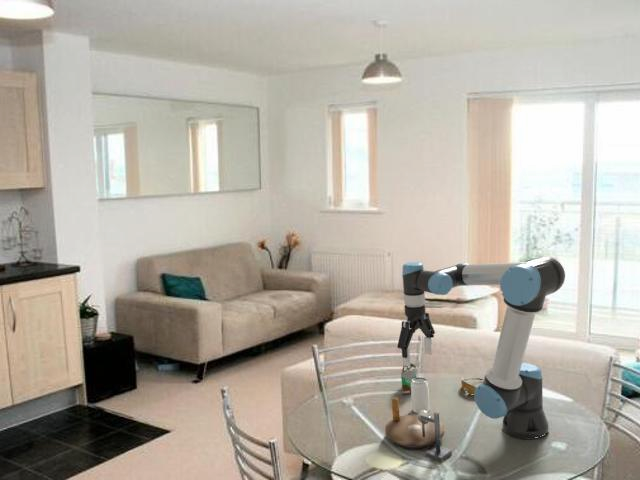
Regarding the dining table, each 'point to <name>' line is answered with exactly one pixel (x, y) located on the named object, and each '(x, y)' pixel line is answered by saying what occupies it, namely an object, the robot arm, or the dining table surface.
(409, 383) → the food container
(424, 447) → the turntable base
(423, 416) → the dial indicator stand
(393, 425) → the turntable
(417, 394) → the can
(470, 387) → the sunglasses
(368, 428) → the dining table surface
